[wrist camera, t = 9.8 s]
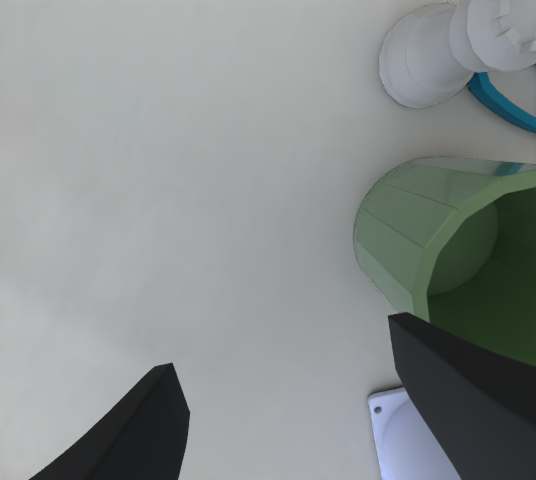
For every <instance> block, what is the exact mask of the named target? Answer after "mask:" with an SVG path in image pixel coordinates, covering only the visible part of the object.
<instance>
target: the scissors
mask: <svg viewBox="0 0 536 480" xmlns="http://www.w3.org/2000/svg"><path fill="white" fill-rule="evenodd" d="M468 84H469V87H470V90H471V92H472V93H473V94H474V95H475V96H476V97H477V98H478V99H479V100H480V101H481V102H482V103H484V104H485V105H486V106H487V107H489V108H490V109H491V110H492V111H494V112H495V113H496V114H498V115H500V116H501V117H503V118H504V119H506V120H507V121H509V122H511V123H512V124H514V125H517V126H519V127H521V128H523V129H525V130H528V131H532V132H535V133H536V118H535V117H533V116H531V115H529V114H528V113H526V112H525V111H523V110H522V109H520V108H519V107H517V106H516V105H514V104H513V103H511V102H510V101H509V100H508V99H507V98H505V97H504V96H503V95H502V94H501V93H499V92H498V91H497V90H496V89H495V87H494V86H493V85H492V84H491V83H490V81H489V78H488V75H487V72H480V73H478V72H474V74H473V76H472V78H471V79H470V80H469V82H468Z"/></svg>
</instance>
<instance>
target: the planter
mask: <svg viewBox="0 0 536 480" xmlns="http://www.w3.org/2000/svg"><path fill="white" fill-rule="evenodd" d="M353 241H354V250H355V254H356V258H357V260H358V263H359V265H360V267H361V269H362V270H363V272H364V274H365V275H366V276H367V277H368V279H369V280H370V282H371V283H372V285H373V286H374V287H375V289H376V290H377V291H378V293H379V294H380V295H381V296H382V298H383V299H384V300H385V301H386V303H387V304H388V305H389V306H390V308H391V309H392V310H393V311H394V313H395V314H398V313H403V312H408V313H410V314H413V315H415V316H417V317H419V318H421V319H423V320H425V321H427V322H429V323H431V324H433V325H435V326H437V327H439V328H441V329H443V330H445V331H447V332H449V333H451V334H453V335H455V336H457V337H459V338H462V339H464V340H466V341H468V342H471V343H473V344H475V345H478V346H480V347H483V348H485V349H487V350H490V351H492V352H495V353H497V354H500V355H503V356H506V357H508V358H511V359H514V360H517V361H520V362H523V363H526V364H529V365H532V366H536V164H527V163H516V162H504V161H493V160H481V159H469V158H458V157H446V156H439V157H427V158H421V159H417V160H413V161H410V162H407V163H405V164H403V165H400V166H398V167H397V168H395V169H393V170H392V171H390V172H389V173H387V174H386V175H385V176H384V177H382V178H381V179H380V180H379V181H378V182H377V183H376V184H375V185H374V186H373V187H372V189H371V190H370V191H369V193H368V194H367V196H366V197H365V199H364V200H363V202H362V204H361V206H360V209H359V211H358V214H357V217H356V220H355V225H354V235H353Z"/></svg>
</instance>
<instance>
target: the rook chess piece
mask: <svg viewBox="0 0 536 480" xmlns="http://www.w3.org/2000/svg"><path fill="white" fill-rule="evenodd" d="M535 63H536V0H462V1H461V2H460V3H459V5H458V6H455V5H451V4H449V3H441V4H431V5H424V6H422V7H420V8H419V9H417V10H415V11H413V12H412V13H410V14H408V15H407V16H405V17H403V18H402V19H400V20H398V22H397V23H396V24H395V25H394V27H393V28H392V29H391V30H390V31H389V33H388V34H387V35H386V37H385V40H384V43H383V46H382V48H381V51H380V54H379V75H380V77H381V80H382V82H383V85H384V87H385V90H386V92H387V93H388V94H390V95H391V96H392V97H393V98H394V99H395V100H396V101H397V102H398V103H400V104H402V105H405V106H408V107H411V108H424V107H432V106H434V105H435V104H440V103H442V102H443V101H445V100H447V99H449V98H451V97H453V96H455V95H456V94H457V93H459V92H460V90H461V89H462V88H463V87H464V86H465V85H466V84H467V83H468V82H469V80H470V79H471V78H472V76H473V74H474V72H478V73H480V72H490V71H494V70H496V69H498V70H501V71H504V72H506V71H516V70H524V69H526V68H528V67H530V66H532V65H534V64H535Z"/></svg>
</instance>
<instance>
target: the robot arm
mask: <svg viewBox="0 0 536 480" xmlns="http://www.w3.org/2000/svg"><path fill="white" fill-rule="evenodd" d="M388 321H389V328H390V335H391V342H392V348H393V355H394V362H395V369H396V371H397V373H398V375H399V377H400V380H401V382H402V384H403V386H404V387H403V388H398V389H394V390H389V391H384V392H379V393H375V394H372V395H371V396H369V398H368V405H369V410H370V416H371V422H372V427H373V433H374V439H375V444H376V450H377V455H378V461H379V467H380V472H381V478H382V480H536V366H532V365H529V364H526V363H523V362H520V361H517V360H514V359H511V358H508V357H506V356H503V355H500V354H497V353H495V352H492V351H490V350H487V349H485V348H483V347H480V346H478V345H475V344H473V343H471V342H468V341H466V340H464V339H462V338H459V337H457V336H455V335H453V334H451V333H449V332H447V331H445V330H443V329H441V328H439V327H437V326H435V325H433V324H431V323H429V322H427V321H425V320H423V319H421V318H419V317H417V316H415V315H413V314H410V313H408V312H403V313H398V314H394V315H389V316H388ZM376 407H379V408H377V409H375V408H376ZM189 418H190V411H189V408H188V406H187V403H186V400H185V397H184V394H183V391H182V388H181V386H180V383H179V380H178V377H177V374H176V371H175V369H174V366H173V363H168V364H164V365H159V366H155V367H154V368H152V369H151V370H150V371H149V372H148V373H147V374H146V375H145V376H144V377H143V378H142V379H141V380H140V381H139V382H138V383H137V384H136V385H135V386H134V387H133V388H132V389H131V390H130V391H129V392H128V393H127V394H126V395H125V396H124V397H123V398H122V399H121V400H120V401H119V402H118V403H117V404H116V405H115V406H114V407H113V408H112V409H111V410H110V411H109V412H108V413H107V414H106V415H105V416H104V417H103V418H102V419H100V420H99V421H98V422H97V423H96V424H95V425H94V426H93V427H92V428H91V429H90V430H89V431H88V432H87V433H86V434H85V435H83V436H82V437H81V438H80V439H79V440H78V441H77V442H76V443H74V444H73V445H72V446H71V447H70V448H69V449H67V450H66V451H65V452H64V453H63V454H61V455H60V456H59V457H58V458H56V459H55V460H54V461H53V462H51V463H50V464H49V465H48V466H46V467H45V468H44V469H43V470H41V471H40V472H39V473H37V474H36V475H34V476H33V477H32V478H30V479H29V480H178V478H179V474H180V470H181V465H182V461H183V457H184V453H185V448H186V444H187V436H188V428H189Z"/></svg>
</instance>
